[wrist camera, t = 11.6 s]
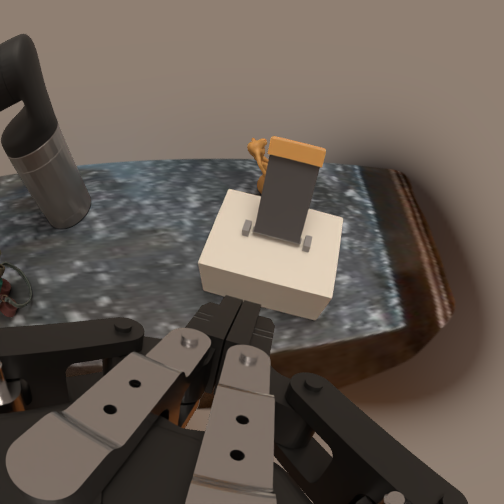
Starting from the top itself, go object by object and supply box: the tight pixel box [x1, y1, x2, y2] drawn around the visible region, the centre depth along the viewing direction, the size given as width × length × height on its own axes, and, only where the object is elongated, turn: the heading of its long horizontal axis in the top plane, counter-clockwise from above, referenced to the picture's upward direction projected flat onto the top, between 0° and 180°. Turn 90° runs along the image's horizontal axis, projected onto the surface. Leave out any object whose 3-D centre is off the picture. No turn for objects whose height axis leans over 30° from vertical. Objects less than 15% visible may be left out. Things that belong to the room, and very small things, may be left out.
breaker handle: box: [252, 136, 326, 245], centre depth 35 cm, size 2×6×12 cm, turn 76°
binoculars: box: [0, 251, 32, 317], centre depth 36 cm, size 9×9×10 cm
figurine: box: [247, 138, 269, 194], centre depth 48 cm, size 8×6×12 cm
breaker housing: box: [198, 189, 343, 320], centre depth 42 cm, size 12×16×9 cm
